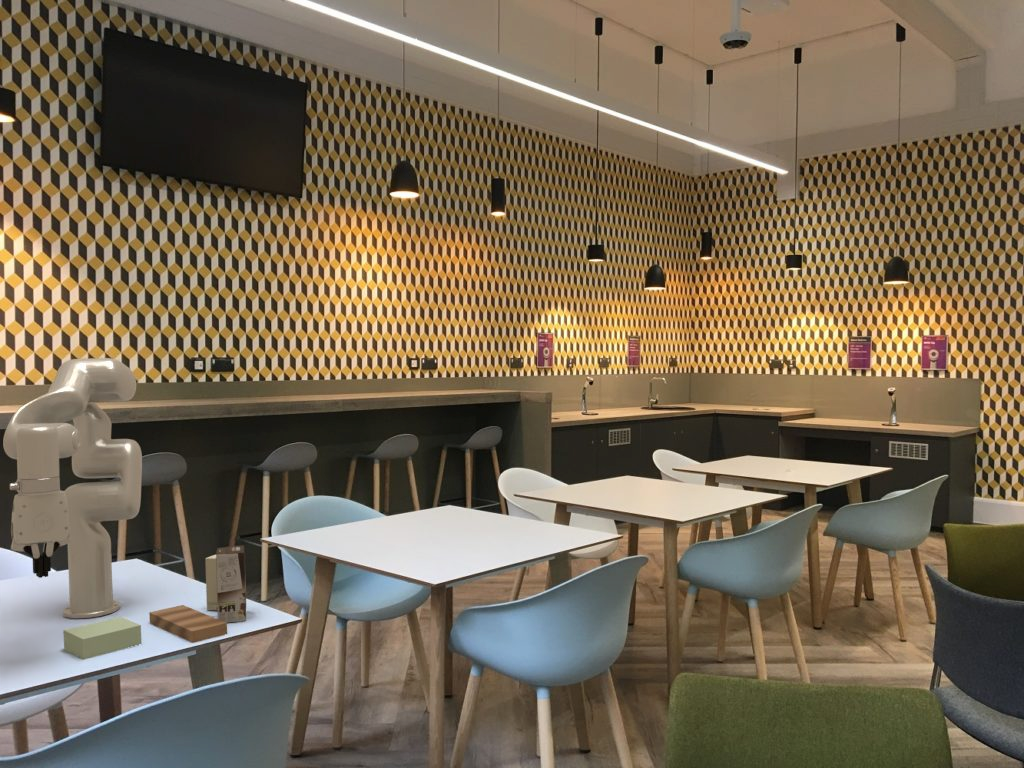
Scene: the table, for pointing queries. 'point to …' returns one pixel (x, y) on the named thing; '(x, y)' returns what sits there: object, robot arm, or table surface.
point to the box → (211, 583)
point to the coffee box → (231, 584)
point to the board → (188, 623)
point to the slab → (102, 637)
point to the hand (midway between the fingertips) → (42, 575)
